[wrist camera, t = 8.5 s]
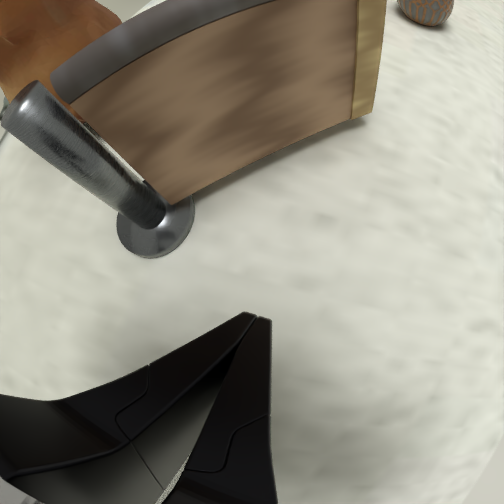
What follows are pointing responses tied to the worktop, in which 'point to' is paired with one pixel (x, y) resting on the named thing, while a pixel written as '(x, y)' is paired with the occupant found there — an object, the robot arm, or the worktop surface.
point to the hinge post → (98, 172)
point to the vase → (427, 10)
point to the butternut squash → (46, 39)
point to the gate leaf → (223, 82)
